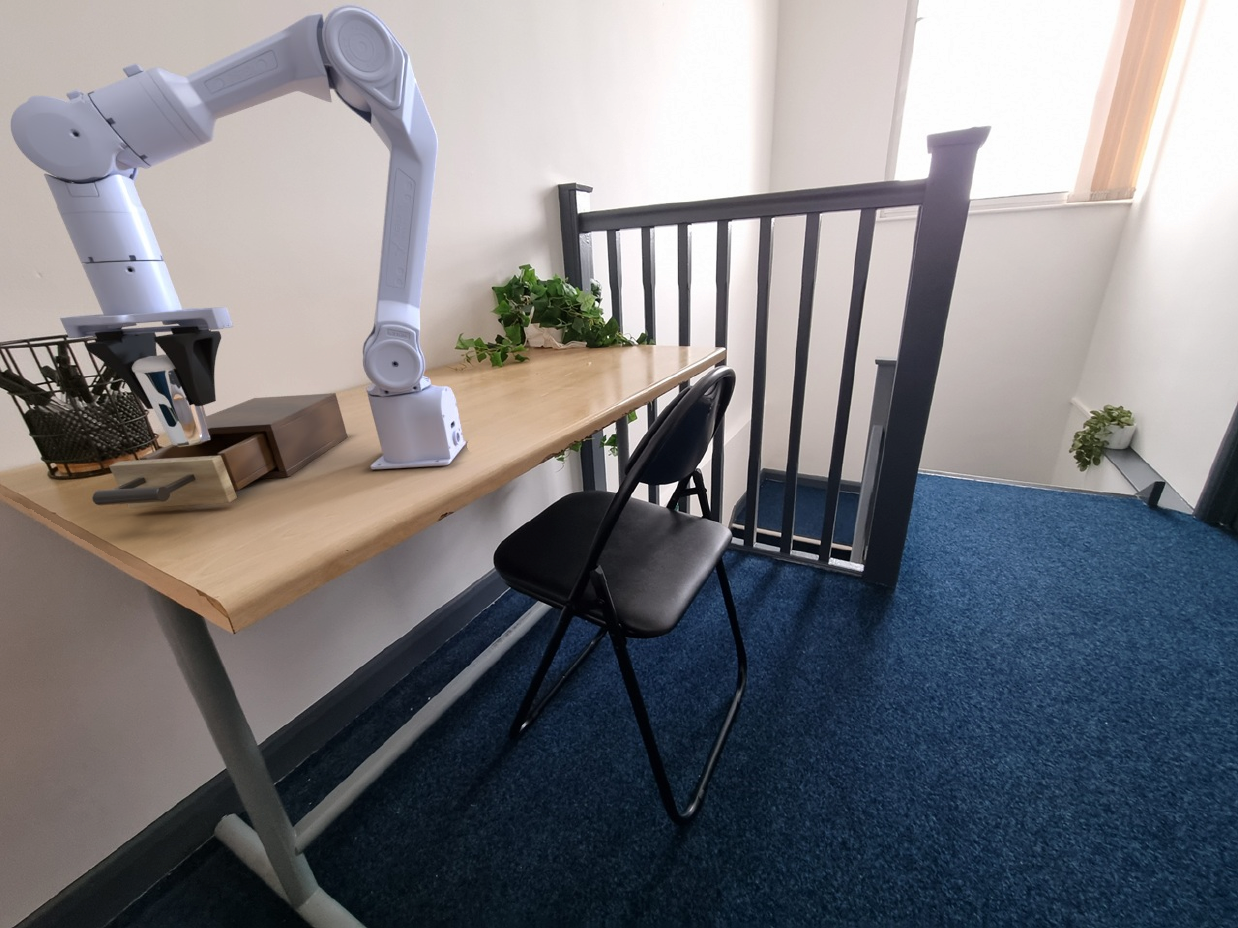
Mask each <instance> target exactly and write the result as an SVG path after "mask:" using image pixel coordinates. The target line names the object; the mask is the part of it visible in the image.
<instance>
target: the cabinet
mask: <svg viewBox="0 0 1238 928" xmlns="http://www.w3.org/2000/svg"><path fill="white" fill-rule="evenodd" d="M206 418H207V421H208V425H209V428H210V432H211V435H212V434H228V433H245V432H262V431H266V433H267V436H268V439H269V442H270V445H271V448H272V451H273V454H274V457H275V460H276V463H277V465H278V466H277V467H275V468H274V469H272V470H270V471H269V472H267V473H265V474H264V475H262V476H261V477H259V478H257V479H256V480H259V479H275V478H288V477H290V476H291V475H293V474H294V473H296V472H297V471H299V470H301V469H302V468H304V467H306V465H308V464H310V463H311V462H312V461H314V460H315V459H317V458H318V457H320V456H321V455H323V454H325V453H326V452H327V451H329V450H331V449H332V448H334V447H335V446H336V445H338V444H340V443H341V442H342V441H344V440H346V439H347V438H348V433H347V429H346V425H345V422H344V418H343V415H342V411H341V408H340V404H339V401H338V397H337V393H336V392H333V393H332V392H331V393H315V394H313V393H312V394H300V395H297V394H296V395H283V396H265V397H253V398H251V399H249V400H246V401H243V402H241V403H238V404H235V405H233V406H230V407H227V408H225V409H222V410H220V411H216V412H214V413H212V414H209V415H206Z"/></svg>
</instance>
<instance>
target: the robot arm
mask: <svg viewBox="0 0 1238 928" xmlns="http://www.w3.org/2000/svg"><path fill="white" fill-rule="evenodd" d="M122 71H123V72H124V74H125V75H126V77H125V78H123V79H120V80H117V81H114V82H112V83H109V84H107V85H105V86H102V87H99V88H97V89H94V90H92V91H89V92H86V93H83V92H82V91H81V90H79V89H74V90H70V91H69V92H67V93H66V94H65V96H66V97H67V98H68V99H69V101H68V100H65V99H62V98H58V97H55V96H49V95H32V96H31V95H30V97H29V98H28V99H27V101H25V102H23V103H21V104H20V105H18V106H17V107H16V108H15V110H14V111H13V113H12V115H11V117H10V131H11V135H12V138H13V141H14V143H15V144H16V146H17V148H18V149H19V150H20V152H21V153H22V154H23V155H24V156H25V157H26V158H27V159H28V160H29V161H30V162H31V163H33V165H35V166H36V167H38V168H39V169H41V170H42V171H45V172H46V173H43V176H44V179H45V181H46V184H47V185H48V188H49V190H50V192H51V194H52V197H53V199H54V201H55V204H56V208H57V211H58V213H59V215H60V218H61V220H62V222H63V225H64V227H65V229H66V231H67V234H68V236H69V238H70V241H71V243H72V245H73V247H74V250H75V252H76V255H77V257H78V259H79V261H80V264H81V266H82V268H83V270H84V272H85V274H86V277H87V280H88V282H89V284H90V286H91V289H92V291H93V293H94V295H95V298H96V300H97V302H98V305H99V307H100V309H101V312H102V314H101V313H100V314H88V315H77V316H76V315H75V316H65V317H60V318H59V319H60V321H61V324H62V326H63V328H64V331H65V333H66V335H67V337H68V339H80V338H81V339H82V338H88V337H89V338H90V337H95V339H94V340H95V341H91V342H86V343H84V346H85V348H86V351H87V352H89V353H91V355H93V356H95V357H96V358H98V360H100V361H101V362H103V363H104V364H105V365H106V366H108V367H109V368H110V369H111V370H112V371H113V372H114V373H116V374H117V375H118V376H119V377H120V378H121V379H122V380H123V381H124V383H125V384H126V385H127V386H128V387H129V388H130V390H131V391H132V392H133V393H134V394H135V396H136V397H137V398H138V399H139V401H140V402H141V404H143V405H144V407H145V408H146V409H147V410H154V409H153V407H152V405H151V403H150V401H149V399H148V397H147V396H146V394H145V392H144V390H143V388H142V387H141V385H140V383H139V381H138V380H137V378H136V376H135V374H134V372H133V371H132V366H133V364H134V363H135V362H136V361H137V360H139V359H142V358H146V357H149V356H158V353H157V345H158V346H159V347H160V349H161V350H162V351H163V353H164V354H165V355H167V356H168V358H169V359H170V360H171V362H172V363H173V365H174V366H175V368H176V370H177V371H178V373H179V375H180V377H181V379H182V382H183V384H184V386H185V389H186V391H187V393H188V395H189V397H190V399H191V401H192V402H193V404H194V405H195V406H203V407H204V406H206V405H209V404H211V403H214V402H216V401H217V399H216V398H217V397H216V386H215V385H216V384H215V381H216V380H215V368H216V360H217V356H218V355H217V354H218V350H219V347H220V343H221V340H222V334H221V332H220V331H219V330H223V329H229V328H234V323H233V321H232V318H231V315H230V312H229V309H228V307H227V306H220V307H196V308H183V307H182V304H181V301H180V299H179V296H178V294H177V291H176V288H175V286H174V283H173V280H172V277H171V275H170V272H169V269H168V266H167V264H166V261H165V259H164V257H163V253H162V251H161V247H160V246H159V243H158V240H157V238H156V235H155V232H154V230H153V226H152V224H151V221H150V219H149V216H148V213H147V211H146V209H145V207H144V206H143V204H142V200H141V199H140V196H139V194H138V191H137V188H136V186H135V181H136V180H137V178H138V175H139V168H141V169H146V170H147V169H150V168H152V167H155V166H156V165H159V164H161V163H164V162H166V161H168V160H170V159H173V158H176V157H177V156H179V155H182V154H184V153H187V152H189V151H191V150H194V149H197V148H199V147H201V146H203V145H206V144H208V143H210V142H212V141H213V140H214V133H215V126H216V122H217V120H219V119H221V118H224V117H227V116H229V115H233V114H236V113H239V112H241V111H244V110H247V109H251V108H253V107H255V106H258V105H261V104H263V103H266V102H269V101H272V100H274V99H277V98H280V97H284V96H286V95H290V94H292V93H295V92H300V93H303V94H306V95H309V96H311V97H314V98H317V99H320V100H322V101H325V102H327V103H333V100H332V95H331V90H332V91H333V92H334V93H335V94H336V96H337V98H338V99H339V100H340V101H341V103H343V104H344V105H345V106H346V107H348V108H349V109H350V110H351V111H352V112H354V114H356V115H357V116H359V118H361V119H362V120H364V122H367V123H368V124H369V125H370V127H371V129H373V131H374V132H375V133H376V135H377V136H378V137H379V138H380V140H381V142H382V143H383V144H384V145H385V146H386V148H387V149H388V151H389V161H388V171H387V173H388V174H387V181H386V184H387V185H386V193H385V203H384V204H385V205H384V214H383V215H384V216H383V217H384V218H383V225H382V226H383V228H382V235H381V237H382V238H381V247H380V249H381V250H380V260H379V270H378V271H379V272H378V283H377V293H376V303H375V311H374V312H375V313H374V318H373V319H374V320H373V326H372V329H371V331H370V333H369V335H367V337H366V338H365V340H364V342H363V345H362V367H363V370H364V373H365V375H366V377H367V378H368V380H369V381H370V382H371V383H370V384H369V385H368V386H367V387H366V388H365V390H366V394H367V398H368V402H369V406H370V410H371V414H372V418H373V420H374V421H373V422H374V425H375V429H376V433H377V437H378V442H379V446H380V448H381V454H382V455H381V456H380V457H378V458H377V460H375V461H374V462H373V463H372V464H371V465H370V469H371V470H388V469H402V468H403V469H404V468H419V467H420V468H421V467H437V466H439V467H440V466H447V465H450V464H451V463H452V462H453V460H455V458H456V456H457V455H458V454H459V453H460V451H461V450H462V449H463V447H465V445H466V444H467V442H466V440H465V439H464V436H463V430H462V425H461V419H460V414H459V409H458V403H457V399H456V395H455V394H454V391H453V389H452V388H451V387H449V386H446V385H434V384H432V382H431V379H430V377H428V376H424V374H425V371H426V360H425V356H424V353H423V351H422V347H421V344H420V335H421V314H420V313H421V312H420V311H421V302H422V301H421V300H422V293H423V283H424V274H425V267H426V256H427V249H428V248H427V247H428V240H429V239H428V238H429V231H430V229H429V228H430V221H431V213H432V203H433V196H434V195H433V193H434V187H435V186H434V184H435V177H436V168H437V167H436V166H437V159H438V149H439V139H438V134H437V131H436V129H435V125H434V124H433V120H432V118H431V115H430V113H429V111H428V108H427V106H426V103H425V100H424V98H423V95H422V93H421V90H420V87H419V85H418V82H417V80H416V77H415V74H414V70H413V66H412V61H411V58H410V54H409V53H408V52H407V50H406V49H405V48H404V47H403V45H402V43H400V41H399V40H398V39H397V37H396V35H394V33H393V32H392V31H391V29H390V28H389V27H388V25H387V24H386V23H385V22H384V21H383V19H382V18H381V17H379V16H378V15H377V14H376V13H374V12H373V11H371V10H369V9H367V8H366V7H363V6H361V5H357V4H350V3H349V4H342V5H340V6H336V7H335V8H333V9H332V10H330V11H329V13H328V14H327V15H326V17H325V19H324V13H323V12H317V13H312V14H311V13H310V14H308V15H306V16H304V17H302V18H300V19H298V20H297V21H295V22H293V23H292V24H291V25H289V26H287V27H285V28H284V29H281V30H280V31H278V32H276V33H273V34H272V35H270V36H268V37H265V38H264V39H261V40H259V41H257V42H255V43H253V44H250V45H249V46H246V47H244V48H241V49H239V50H238V51H236V52H234V53H231V54H230V55H227V56H225V57H223V58H221V59H219V60H217V61H215V62H213V63H211V64H209V65H206V66H204V67H202V68H199V69H198V70H195V71H194V72H192V73H189V74H188V75H185V76H183V75H180V74H177V73H174V72H172V71H169V70H166V69H164V68H162V67H160V66H154V67H151V68H148V69H144V68H143V67H142V66H141V65H140V64H138V63H132V64H130V65H127V66H125V67H122ZM158 322H162V325H161V326H147V327H137V324H146V323H158ZM135 326H136V327H135ZM128 327H130V328H128ZM170 332H171V333H170ZM156 333H169V334H163V335H156Z"/></svg>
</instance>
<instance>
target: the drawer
mask: <svg viewBox="0 0 1238 928" xmlns="http://www.w3.org/2000/svg"><path fill="white" fill-rule="evenodd" d="M277 466H278V465H277V463H276V460H275V457H274V454H273V451H272V448H271V445H270V442H269V439H268V436H267V433H266V431H262V432H245V433H228V434H212V438H211V440H209V441H206V442H204V443H201V444H197V445H192V446H185V447H175V446H173V445H172V443H170V444H169V445H166V446H164V447H162V448H159V449H157V450H155V451H152V452H150V453H147V454H145V455H143V456H140V457H139V459H138V460H137V459H136V460H122V461H117V462H113V463H111V464H109V466H108V467H109V469H110V471H111V474H113V477H114V479H115V482H116V484H117V485H118V487H116V488H113V489H100V490H97V491H95V492H94V493H93V494H92V497H91V500H92V502H93V503H94V505H97V506H115V505H127V506H128V508H129V509H140V508H141V509H142V508H160V507H175V506H176V507H177V506H192V505H210V504H211V505H212V504H228V503H231V502H233V501H234V500H236V499H237V498H238V497H237V494H236V491H240V490H241V489H242V488H244V487H246V486H248V485H249V484H251V483H252V482H254V481H256V480H258V479H257V478H259V477H261V476H262V475H264V474H265V473H267V472H269V471H270V470H272V469H274V468H275V467H277Z"/></svg>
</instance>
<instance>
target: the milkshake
mask: <svg viewBox="0 0 1238 928" xmlns="http://www.w3.org/2000/svg"><path fill="white" fill-rule="evenodd" d="M132 371H133V372H134V374H135V376H136V378H137V380H138V381H139V383H140V385H141V387H142V388H143V390H144V392H145V394H146V396H147V397H148V399H149V401H150V403H151V405H152V407H153V409H152V410H153V411H154V413H155V415H156V417H157V418H158V421H159V423H160V424H161V427H163V430H164V432H165V434H166V436H167V437H168V439H169V441H170V444H172V445H173V446H175V447H185V446H192V445H197V444H201V443H204V442H206V441H209V440H211V438H212V435H211V432H210V428H209V425H208V421H207V418H206V416H207V414H206V411H205V408H204V405H203V406H195V405H194V404H193V402H192V401H191V399H190V397H189V395H188V393H187V391H186V389H185V386H184V384H183V382H182V379H181V377H180V375H179V373H178V371H177V370H176V368H175V366H174V365H173V363H172V362H171V360H170V359H169V358H168V356H167V355H166V353H164V354H159V355H158V354H157V356H149V357H146V358H142V359H139V360H137V361H136V362H135V363H134V364H133V366H132Z"/></svg>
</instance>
